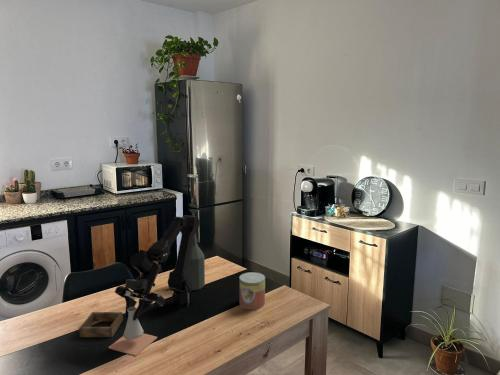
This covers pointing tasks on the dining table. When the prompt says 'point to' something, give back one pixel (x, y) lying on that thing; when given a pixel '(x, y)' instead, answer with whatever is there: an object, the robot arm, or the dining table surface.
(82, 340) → the dining table surface
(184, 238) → the robot arm
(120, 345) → the terracotta mat
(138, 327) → the flask
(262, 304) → the canned food
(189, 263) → the bottle
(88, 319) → the walnut box
